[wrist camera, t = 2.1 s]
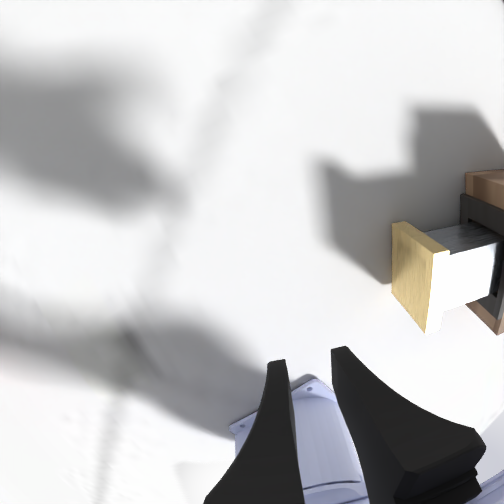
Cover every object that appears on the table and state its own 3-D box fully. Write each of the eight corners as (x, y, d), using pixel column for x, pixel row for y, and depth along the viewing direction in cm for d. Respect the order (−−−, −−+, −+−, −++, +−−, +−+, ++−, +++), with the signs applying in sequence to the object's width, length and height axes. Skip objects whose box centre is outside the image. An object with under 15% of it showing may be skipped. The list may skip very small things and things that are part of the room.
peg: (391, 292, 20) (425, 334, 15) (391, 223, 18) (434, 254, 14) (473, 269, 20) (512, 300, 15) (478, 207, 18) (525, 230, 13)
